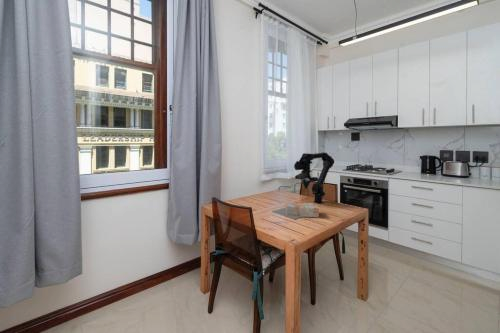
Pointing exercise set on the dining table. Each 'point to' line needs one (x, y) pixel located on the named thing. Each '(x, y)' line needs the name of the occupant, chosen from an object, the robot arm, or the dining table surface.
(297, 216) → the mat
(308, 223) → the dining table surface
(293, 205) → the stack of blocks
